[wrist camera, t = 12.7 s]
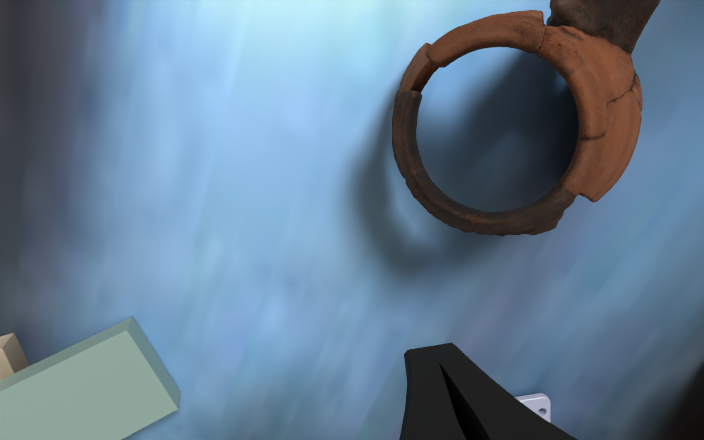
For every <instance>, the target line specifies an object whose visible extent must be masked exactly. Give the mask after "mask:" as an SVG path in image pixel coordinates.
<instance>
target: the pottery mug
mask: <svg viewBox="0 0 704 440" xmlns="http://www.w3.org/2000/svg"><path fill="white" fill-rule="evenodd" d="M660 1H661V0H551V1H550V9H551V16H550V17H549V18H548V19H547V26H546V25H545V24H544V20H543V12H542V11H536V10H529V11H517V12H511V13H505V14H496V15H491V16H488V17H485V18H482V19H479V20H476V21H473V22H471V23H468V24H465V25H462V26H459V27H457V28H455V29H453V30H451V31H449V32H448V33H446V34H445V35H443V36H442V37H441V38H439V39H438V40H437V41H435V42H434V43H433V44H432V45H431V44H429V43H425V44H424V45H423V46H422V47H421V48H420V49H419V50H418V52H417V53H416V54H415V56H414V58H413V59H412V61H411V62H410V64H409V66H408V67H407V69H406V71H405V73H404V76H403V78H402V81H401V84H400V90H399V91H398V92H397V94H396V98H395V105H394V112H393V118H392V145H393V151H394V157H395V160H396V162H397V166H398V168H399V171H400V173H401V175H402V176H403V177H404V178H405V180H406V185H407V187H408V188H409V189H410V191H411V193H412V195H413V197H414V198H415V199H417V200H418V201H419V202H420V203H421V205H422V206H423V207H424V208H425V209H426V210H427V211H428V212H429V213H430V214H432V215H433V216H434V217H436V218H437V219H439V220H441V221H442V222H444V223H445V224H448V225H449V226H452V227H454V228H458V229H460V230H462V231H464V232H475V233H477V234H487V235H499V236H504V235H520V234H529V235H537V234H540V233H543V232H547V231H550V230H552V229H554V228H555V227H556V226H557V224H558V221H559V220H560V219H561V217H562V216H563V213H564V210H565V209H567V208H568V207H569V206H570V205H571V204H572V203H573V202H574V199H575V197H576V196H577V195H579V194H580V195H581V196H584V197H586V198H588V199H589V200H590V201H592V202H597V201H598V200H599V199H600V198H601V197H602V196H603V195H604V194H605V193H607V192H608V191H609V190H610V189H611V188H612V186H613V185H614V184H615V183H616V182H617V181H618V179H619V178H620V177H621V175H622V174H623V172H624V171H625V169H626V167H627V166H628V164H629V162H630V160H631V157H632V155H633V152H634V149H635V146H636V143H637V139H638V135H639V131H640V125H641V114H640V112H641V110H642V91H641V85H640V79H639V77H638V75H637V74H636V72H635V69H634V68H633V63H632V58H631V53H632V52H633V49H634V47H635V44H636V42H637V40H638V38H639V36H640V34H641V32H642V30H643V29H644V27H645V25H646V23H647V22H648V20H649V19H650V17H651V15H652V14H653V12H654V10H655V9H656V7H657V6H658V4H659V3H660ZM490 47H509V48H516V49H520V50H523V51H525V52H528V53H533V54H536V55H538V56H539V57H541V58H542V59H544V60H546V61H547V62H548V63H549V64H550V65H552V66H553V67H554V68H555V69H556V70H557V71H558V72H559V74H560V75H561V76H562V77H563V78H564V80H565V81H566V83H567V84H568V86H569V88H570V90H571V92H572V94H573V97H574V99H575V103H576V106H577V110H578V117H579V137H578V141H577V145H576V150H575V153H574V155H573V158H572V160H571V163H570V165H569V166H568V168H567V170H566V172H565V173H564V174H563V176H562V177H561V178H560V180H559V181H558V183H557V185H556V186H555V187H554V188H553V189H552V190H551V191H550V192H548V193H547V194H546V195H545V196H543V197H542V198H540V199H539V200H537V201H535V202H533V203H531V204H529V205H527V206H524V207H521V208H518V209H515V210H510V211H504V212H483V211H479V210H475V209H472V208H469V207H466V206H464V205H462V204H459V203H458V202H456V201H454V200H452V199H451V198H449V197H448V196H447V195H446V194H444V193H443V192H442V191H441V190H440V189H439V188H438V187H437V186H436V185H435V184H434V183H433V181H432V180H431V179H430V177H429V175H428V174H427V172H426V171H425V168H424V166H423V164H422V161H421V157H420V154H419V151H418V146H417V141H416V126H417V116H418V110H419V106H420V103H421V99H422V94H421V92H422V90H423V88H424V86H425V85H426V83H427V82H428V80H429V79H430V77H431V76H432V74H433V73H434V72H435V71H436V70H437V69H438V68H439V67H446V66H447V65H449V64H450V63H452V62H453V61H455V60H456V59H458V58H459V57H461V56H463V55H465V54H467V53H470V52H472V51H476V50H479V49H484V48H490Z"/></svg>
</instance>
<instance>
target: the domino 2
mask: <svg viewBox="0 0 704 440" xmlns="http://www.w3.org/2000/svg"><path fill="white" fill-rule="evenodd" d="M180 392H181V391H180V390H179V388H178V387H177V385H176V383H175V382H174V380H173V379H172V377H171V376H170V374H169V372H168V371H167V369H166V368H165V366H164V365H163V363H162V361H161V360H160V358H159V357H158V355H157V353H156V352H155V350H154V349H153V347H152V346H151V344H150V342H149V341H148V339H147V338H146V336H145V335H144V333H143V331H142V330H141V328H140V327H139V325H138V324H137V322H136V320H135V319H134V317H131V318H128V319H126V320H124V321H122V322H120V323H118V324H116V325H114V326H112V327H110V328H108V329H106V330H104V331H102V332H99V333H97V334H95V335H93V336H91V337H89V338H87V339H85V340H83V341H81V342H79V343H77V344H75V345H72V346H70V347H68V348H66V349H64V350H62V351H60V352H58V353H56V354H54V355H52V356H50V357H48V358H45V359H43V360H41V361H39V362H37V363H35V364H33V365H31V366H29V367H27V368H25V369H23V370H21V371H18V372H16V373H14V374H12V375H10V376H8V377H6V378H4V379H2V380H0V440H122V439H123V438H125V437H127V436H129V435H131V434H133V433H135V432H137V431H138V430H140V429H142V428H144V427H146V426H148V425H150V424H152V423H153V422H155V421H157V420H159V419H161V418H163V417H165V416H166V415H168V414H170V413H172V412H174V411H176V410H178V406H179V399H180Z"/></svg>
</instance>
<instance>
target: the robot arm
mask: <svg viewBox="0 0 704 440" xmlns="http://www.w3.org/2000/svg"><path fill="white" fill-rule="evenodd" d="M404 359H405V367H406V375H407V394H406V405H405V412H404V418H403V424H402V430H401V435H400V439H399V440H577V439H576V438H574V437H572V436H570V435H569V434H567V433H566V432H564V431H562V430H561V429H559V428H558V427H556V426H554V425H553V424H551V423H550V400H549V398H548V397H547V396H546V395H545V394H543V393H538V394H531V395H525V396H519V397H513V396H512V395H511V394H510V393H508V392H507V391H506V390H505V389H504V388H502V387H501V386H500V385H499V384H497V383H496V382H495V381H494V380H493V379H491V378H490V377H489V376H488V375H487V374H486V373H485V372H483V371H482V370H481V369H480V368H479V367H478V366H477V365H476V364H475V363H473V362H472V361H471V360H470V359H469V358H468V357H467V356H466V355H465V354H464V353H463V352H462V351H461V350H460V349H459V348H458V347H457V346H455V345H454V344H453V343H447V344H441V345H435V346H429V347H423V348H416V349H410V350H407V351H406V352H405V354H404ZM541 408H543V409H542V410H540V411H538V410H539V409H541Z"/></svg>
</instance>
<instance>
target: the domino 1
mask: <svg viewBox="0 0 704 440" xmlns="http://www.w3.org/2000/svg"><path fill="white" fill-rule="evenodd" d="M27 367H29V364H28V362H27V360H26V358H25V355H24V353H23V351H22V349H21V347H20V345H19V342H18V340H17V338H16V336H15V334H14V333H11V334H7V335H4V336H1V337H0V380H2V379H4V378H6V377H8V376H10V375H12V374H14V373H16V372H18V371H21V370H23V369H25V368H27Z"/></svg>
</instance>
